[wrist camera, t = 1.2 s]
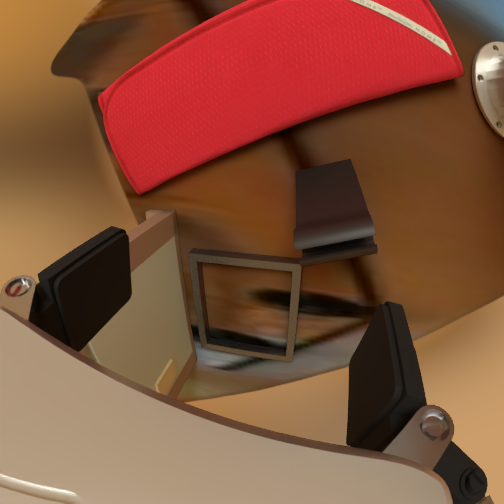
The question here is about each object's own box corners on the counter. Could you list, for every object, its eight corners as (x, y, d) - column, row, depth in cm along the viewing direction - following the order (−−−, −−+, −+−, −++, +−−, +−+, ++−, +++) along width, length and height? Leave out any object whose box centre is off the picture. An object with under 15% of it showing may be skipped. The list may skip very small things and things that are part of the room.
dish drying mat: (103, 94, 32) (85, 95, 28) (395, -33, 17) (401, -47, 13) (145, 193, 37) (129, 201, 33) (456, 81, 22) (470, 78, 18)
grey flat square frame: (302, 258, 35) (301, 264, 33) (293, 355, 41) (292, 362, 40) (193, 248, 38) (188, 253, 36) (204, 340, 44) (201, 346, 43)
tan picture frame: (178, 211, 36) (38, 317, 16) (199, 360, 47) (139, 472, 27) (149, 209, 37) (11, 304, 17) (176, 354, 48) (111, 459, 28)
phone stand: (296, 170, 30) (280, 197, 20) (350, 158, 28) (366, 179, 18) (315, 245, 34) (309, 305, 23) (366, 236, 32) (382, 293, 21)
